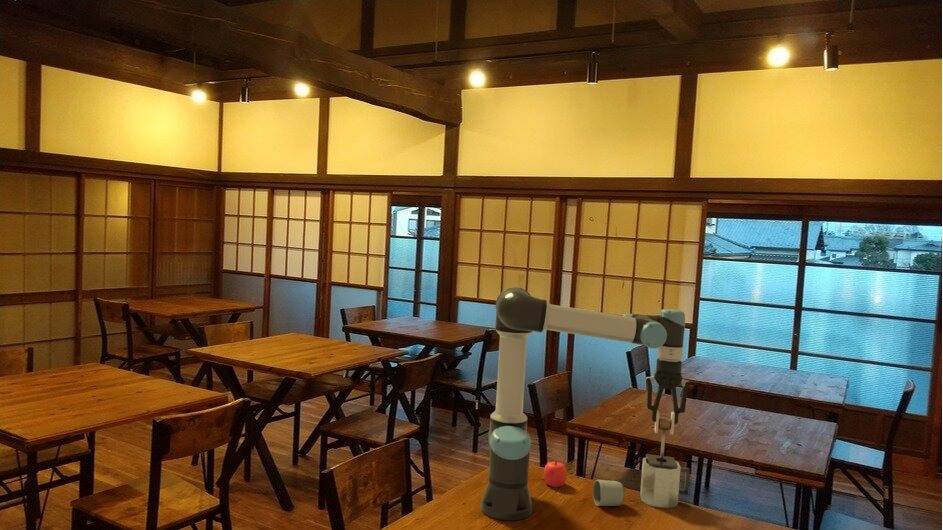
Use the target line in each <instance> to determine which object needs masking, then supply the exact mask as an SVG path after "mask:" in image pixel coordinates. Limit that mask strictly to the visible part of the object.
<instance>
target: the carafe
mask: <svg viewBox="0 0 943 530" xmlns="http://www.w3.org/2000/svg"><path fill="white" fill-rule="evenodd" d="M659 467H664V468H659ZM681 473H685V474H684V487H683V488H680V479H681V478H680V477H681ZM690 473H691V469H690V468H689V467H686V466H685V467H682V466H681V464H680V462H679V461H677V460H675V457H673V456H665V455H664V458H663V462H660V455H655V454H646V457H642V464H641V476H640V477H641V480H640V490H639V491H640V493H639V495H640V500H641V502H642V503H644V504H645V505H647V506H649V507H653V508H656V509H657V508H658V509H663V510H664V509H665V510H666V509H668V510H669V509H673V508H675V507H676V506H678V503H679V494H681V495H689V485H690V475H691V474H690Z"/></svg>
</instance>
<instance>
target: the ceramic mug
mask: <svg viewBox="0 0 943 530" xmlns="http://www.w3.org/2000/svg"><path fill="white" fill-rule="evenodd" d="M592 498H593V502H594V504H595V505H596V506H597V507H618V506H622V505H623V504H624V502H625V500H626V490H625V487H624V485H623V483H621V482H619V481H617V480H608V479H606V480H605V479H604V480H603V479H595V481H594V482H593V486H592Z"/></svg>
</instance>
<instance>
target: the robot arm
mask: <svg viewBox="0 0 943 530" xmlns="http://www.w3.org/2000/svg"><path fill="white" fill-rule="evenodd" d="M495 311H496V312H495V331H496V333H497V334H498V335H499V343H498V344H499V345H498V361H497V362H498V365H497V380H496V382H497V383H496V395H495V396H496V399H495V410H494V411H493V412H492V413H491V414H490V418H489V420H490V421H489V430H488V434H487V435H488V436H487V437H488V438H487V439H488V444H489V445H488V446H489V465H488V466H489V467H488V468H489V469H488V481H487V484H486V487H485V490H484V492H483V495H482V497H481V502H480V509H481V512H482V513H484V514H485V515H486V516H488V517H490V518H492V519H496V520H501V521H521V520H524V519H527V518H529V517H530V516H531V515H532V514H533V513H532V512H533V503H532V498H531V494H530V490H529V486H528V481H529V467H530V453H531V452H530V451H531V448H532V447H531V446H532V445H531V443H532V442H531V437H530V434H529V433H528V430H527V429H528V428H527V427H528V416H527V415H526V414H525V413H524V399H525V397H524V395H525V382H526V381H525V379H526V367H527V365H526V363H527V360H526V359H527V345H528V337H529V336H530V335H532V334H533V332H535V333H544V332H546V331H553V332H559V333H565V334H571V335H578V336H584V337H585V336H586V337H591V338H598V339H605V340H610V341H611V340H612V341H618V342H622V343H623V342H624V343H629V344H630V343H631V344H635V345H641V346H645V347H646V348H650V349H657V351H656V352H657V353H656V354H657V355H656V356H657V359H656V367H655V373H654V374H653V375H652V376H646V377H645V381H646V383H647V388H646V391H647V392H646V408H647V409H648V410H650V411H651V412H652V413H651V421H652V422H654V430H653V431H654V433H655V434H659V428H658V424H659V417H660V411H659V410H658V409H659V405H660V402H661V400H662V399H661V398H662V396H663V392H664V390H666V389H667V390H670V391H671V393H670V394H671V399H672V405H673V406H672V407H673V411H670V419H671V430H669V434H670V435H671V436H674V431H675V425H678V423H679V415H680V414H681V413H685V412H686V404H687V397H688V390H689V388H690V385H691V382H690V381H689V380H687V379H684V378H683V376H682V366H683V365H682V364H683V362H682V359H683V352H684V351H683V350H684V340H685V339H684V338H685V337H684V336H685V330H686V329H685V328H686V314H685V312H684V311H683V310H680V309H673V308H672V309H671V308H663V309H661V310H660V312H659V314H658V315H657V314H656V315H653V314H638V313H624V314H623V315H621V314H620V315H619V314H614V313H607V312H600V311H595V310H589V309H581V308H576V307H570V306H563V305H557V304H551V303H550V302H549V300H547V299H541V298H538V297H535V296H532V295H531V294H530V293H529V291H527V290H526V289H524V288H522V287H509V288H506V289H504V290H503V291H501V293H499V294H498V296H497V297H496V300H495ZM654 381H656V383H657V384H658V386H657V391H656V394H655V398H654V402H653V384H654ZM680 384H681V386H682V388H681V394H680V395H681V396H680V405H679V403H678V396H677V387H678V385H680ZM652 402H653V404H652Z"/></svg>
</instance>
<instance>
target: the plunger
mask: <svg viewBox="0 0 943 530" xmlns="http://www.w3.org/2000/svg"><path fill="white" fill-rule="evenodd" d="M658 430H661V443H660V444H661V445H660V455H659V456H660V462H663V458H664V456H665V442H666V431H670V430H671V417H670V418H669V417H667V416H659V424H658ZM659 468H664V467H659Z"/></svg>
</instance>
